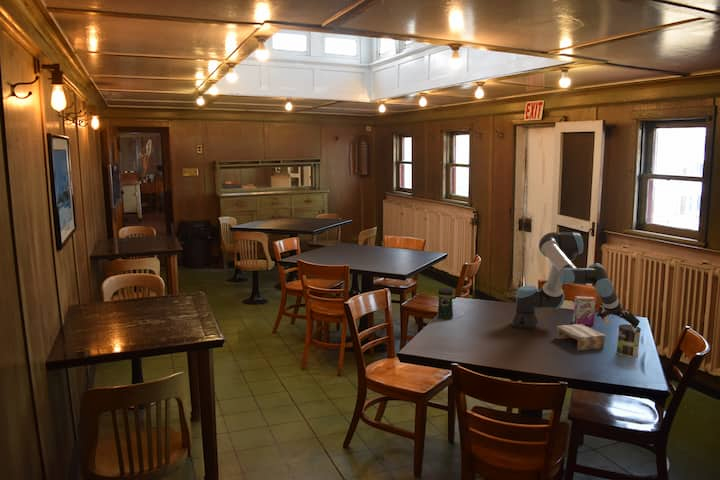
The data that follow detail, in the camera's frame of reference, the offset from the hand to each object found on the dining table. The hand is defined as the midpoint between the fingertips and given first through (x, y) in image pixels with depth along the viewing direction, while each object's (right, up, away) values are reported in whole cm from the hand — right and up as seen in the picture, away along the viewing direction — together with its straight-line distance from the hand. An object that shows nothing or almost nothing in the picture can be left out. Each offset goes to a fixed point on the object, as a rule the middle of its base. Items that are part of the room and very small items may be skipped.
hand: (621, 326), depth 290 cm
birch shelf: (-12, -12, +25) cm, 30 cm away
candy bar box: (+4, -7, +59) cm, 60 cm away
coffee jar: (-79, -5, +66) cm, 103 cm away
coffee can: (+7, -15, +10) cm, 20 cm away
